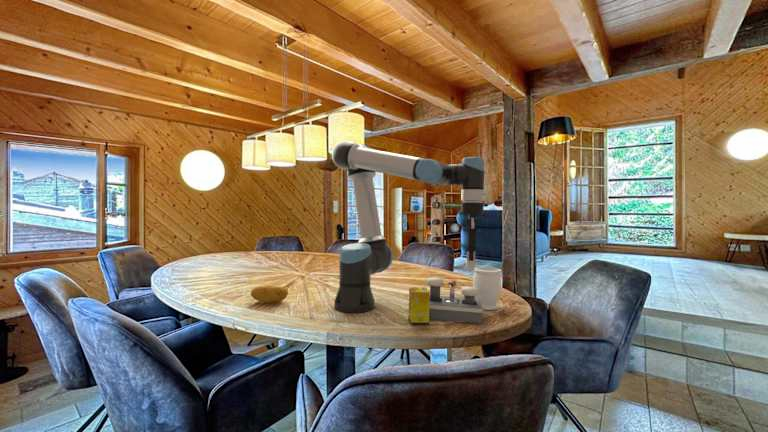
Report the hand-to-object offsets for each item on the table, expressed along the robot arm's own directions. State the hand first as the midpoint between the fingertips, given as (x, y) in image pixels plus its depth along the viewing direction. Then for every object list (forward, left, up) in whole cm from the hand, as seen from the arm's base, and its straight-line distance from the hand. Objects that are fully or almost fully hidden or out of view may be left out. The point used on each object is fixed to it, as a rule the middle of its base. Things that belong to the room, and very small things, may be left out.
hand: (470, 269), depth 116 cm
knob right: (0, 0, -14) cm, 14 cm away
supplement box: (-17, -10, -17) cm, 26 cm away
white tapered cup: (+7, +13, -17) cm, 22 cm away
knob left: (-12, 0, -11) cm, 16 cm away
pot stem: (-6, 0, -17) cm, 18 cm away
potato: (-75, -4, -17) cm, 77 cm away
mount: (-6, 0, -17) cm, 18 cm away
